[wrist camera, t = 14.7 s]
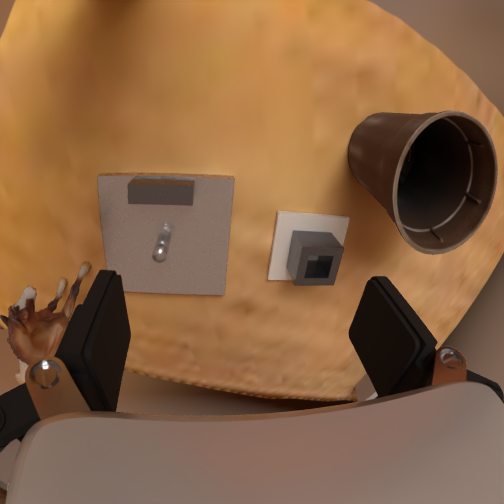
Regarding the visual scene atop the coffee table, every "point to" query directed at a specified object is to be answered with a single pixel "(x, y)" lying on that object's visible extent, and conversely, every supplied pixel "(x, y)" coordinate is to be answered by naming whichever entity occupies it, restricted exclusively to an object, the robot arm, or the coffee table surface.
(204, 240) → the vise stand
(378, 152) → the plant pot
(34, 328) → the horse figurine
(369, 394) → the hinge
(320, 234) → the collar
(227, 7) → the coffee table surface
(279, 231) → the pad
